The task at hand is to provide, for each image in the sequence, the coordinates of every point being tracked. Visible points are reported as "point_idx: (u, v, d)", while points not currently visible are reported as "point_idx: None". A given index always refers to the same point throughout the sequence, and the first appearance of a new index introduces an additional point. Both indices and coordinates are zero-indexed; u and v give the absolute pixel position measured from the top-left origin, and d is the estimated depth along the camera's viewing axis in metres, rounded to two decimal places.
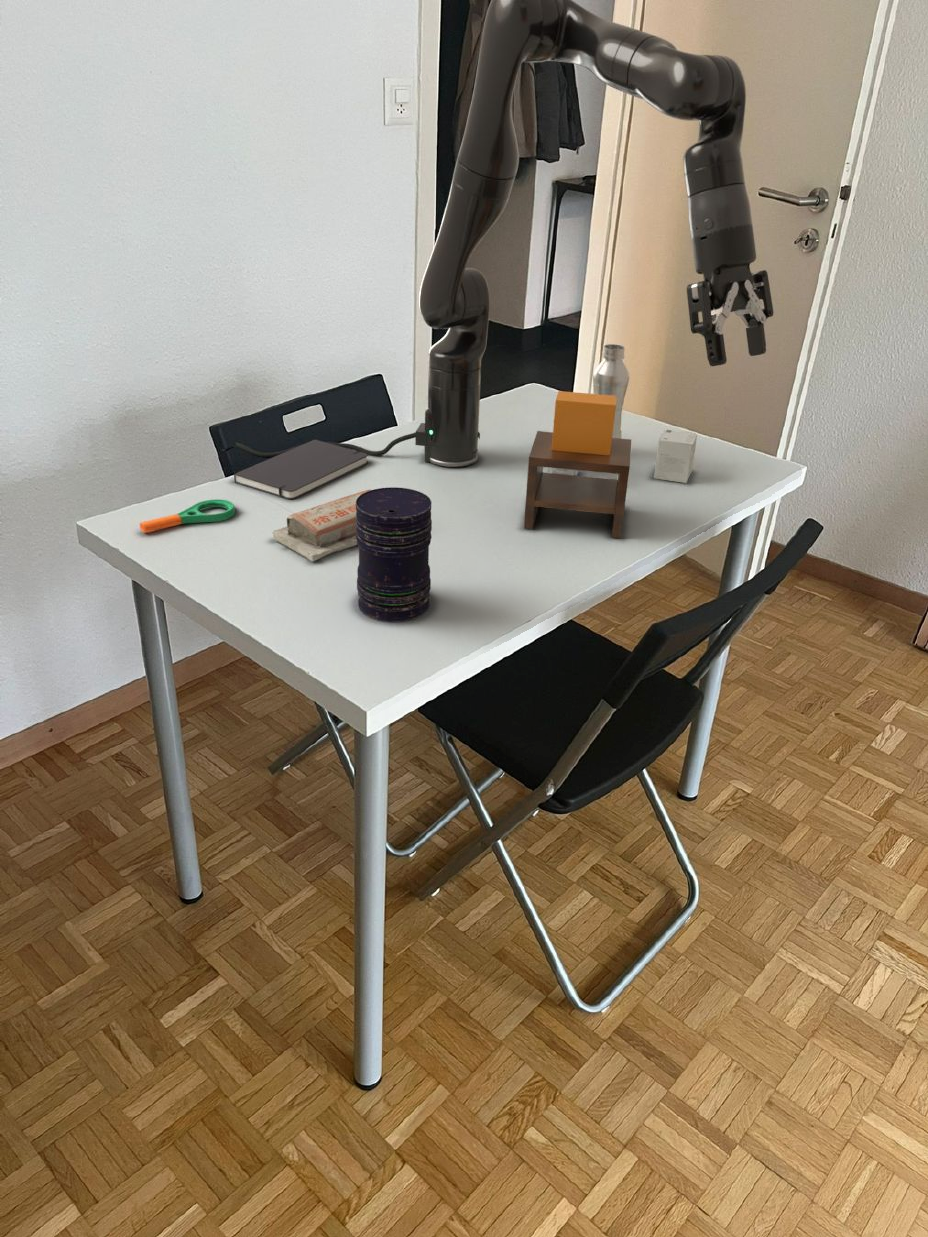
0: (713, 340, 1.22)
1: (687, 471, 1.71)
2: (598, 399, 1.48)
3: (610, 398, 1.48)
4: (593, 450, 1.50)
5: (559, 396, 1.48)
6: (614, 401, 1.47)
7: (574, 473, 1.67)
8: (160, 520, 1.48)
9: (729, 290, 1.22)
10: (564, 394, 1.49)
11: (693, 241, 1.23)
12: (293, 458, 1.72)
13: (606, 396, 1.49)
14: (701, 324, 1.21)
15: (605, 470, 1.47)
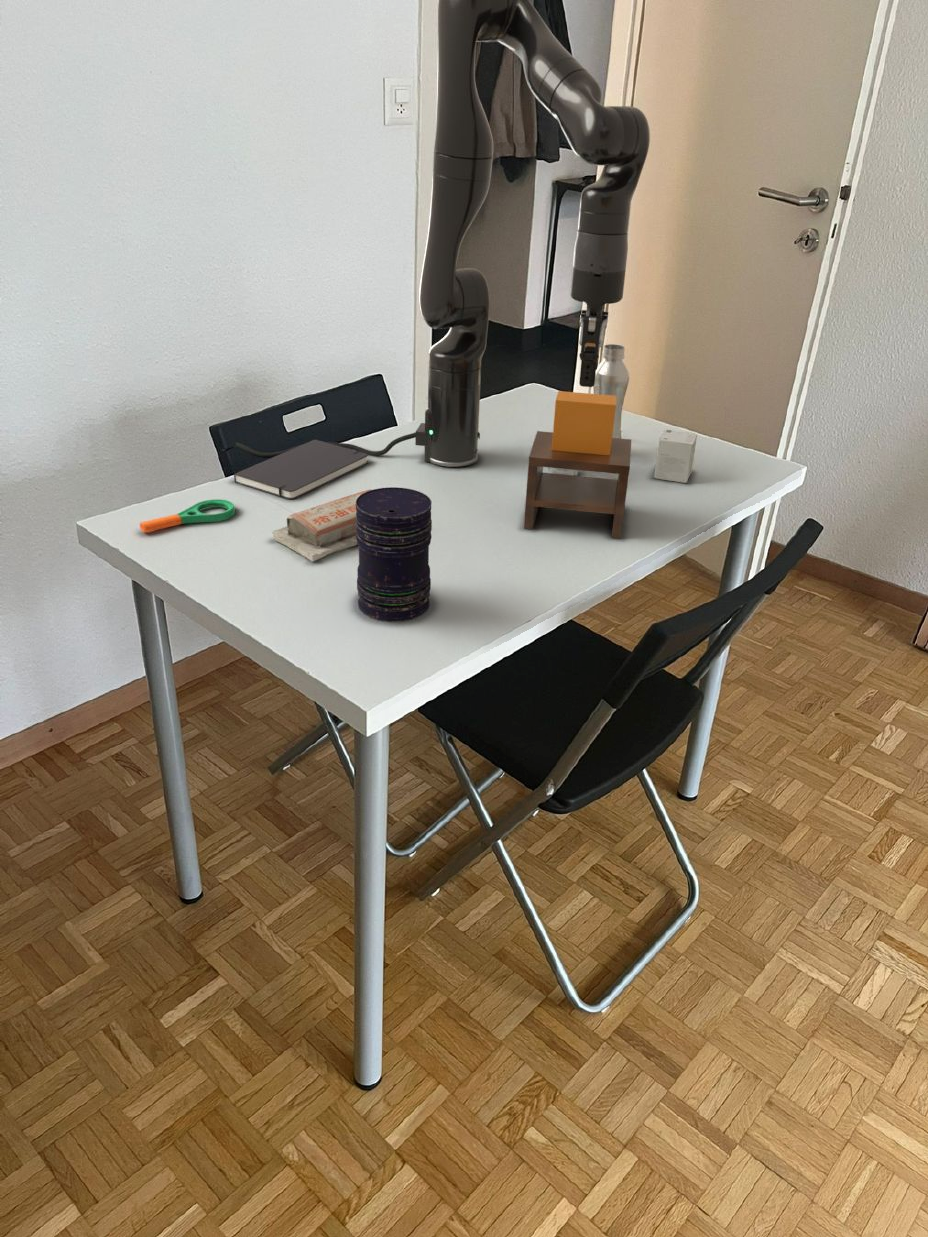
0: (592, 366, 1.40)
1: (687, 471, 1.71)
2: (598, 399, 1.48)
3: (610, 398, 1.48)
4: (593, 450, 1.50)
5: (559, 396, 1.48)
6: (614, 401, 1.47)
7: (574, 473, 1.67)
8: (160, 520, 1.48)
9: (604, 323, 1.40)
10: (564, 394, 1.49)
11: (583, 273, 1.36)
12: (293, 458, 1.72)
13: (606, 396, 1.49)
14: (592, 354, 1.38)
15: (605, 470, 1.47)
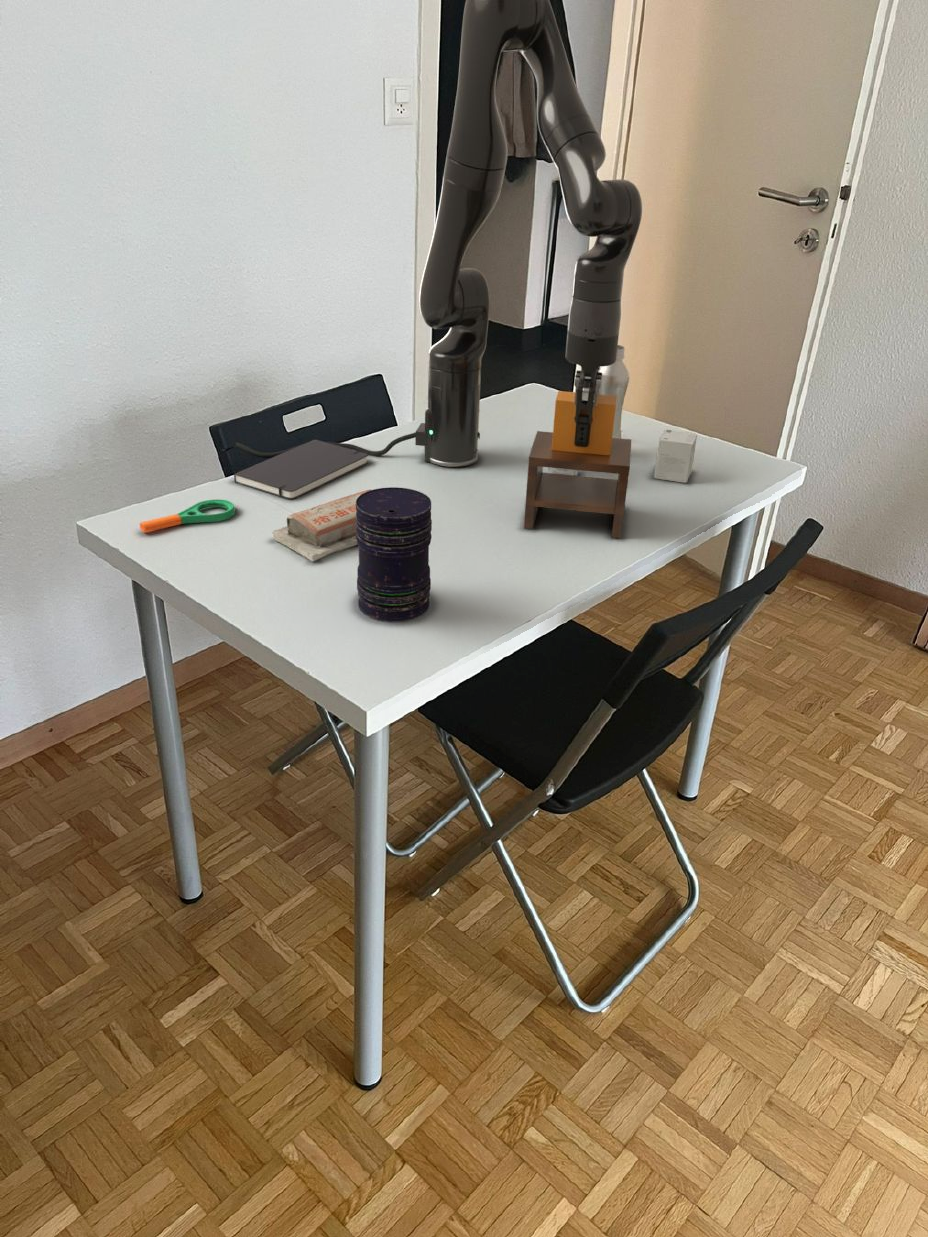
0: (586, 428, 1.47)
1: (687, 471, 1.71)
2: (598, 399, 1.48)
3: (610, 398, 1.48)
4: (593, 450, 1.50)
5: (559, 396, 1.48)
6: (614, 401, 1.47)
7: (574, 473, 1.67)
8: (160, 520, 1.48)
9: (598, 386, 1.45)
10: (564, 394, 1.49)
11: (577, 338, 1.41)
12: (293, 458, 1.72)
13: (606, 396, 1.49)
14: (586, 418, 1.44)
15: (605, 470, 1.47)
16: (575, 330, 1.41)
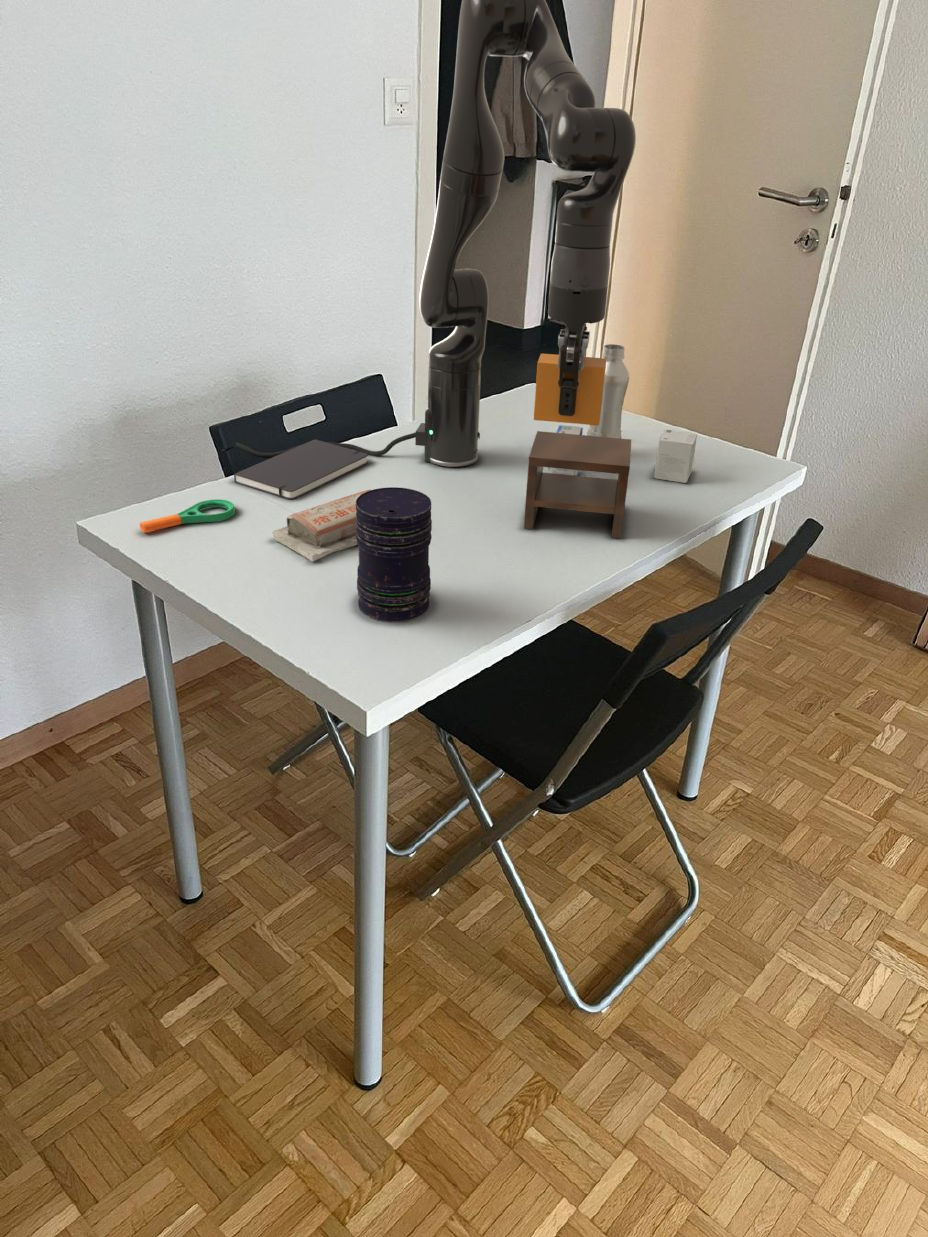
0: (572, 394, 1.30)
1: (687, 471, 1.71)
2: (585, 361, 1.31)
3: (599, 361, 1.32)
4: (580, 419, 1.33)
5: (541, 358, 1.32)
6: (603, 364, 1.31)
7: (574, 473, 1.67)
8: (160, 520, 1.48)
9: (585, 346, 1.28)
10: (548, 357, 1.33)
11: (561, 290, 1.24)
12: (293, 458, 1.72)
13: (594, 359, 1.33)
14: (571, 381, 1.28)
15: (605, 470, 1.47)
16: (558, 281, 1.24)
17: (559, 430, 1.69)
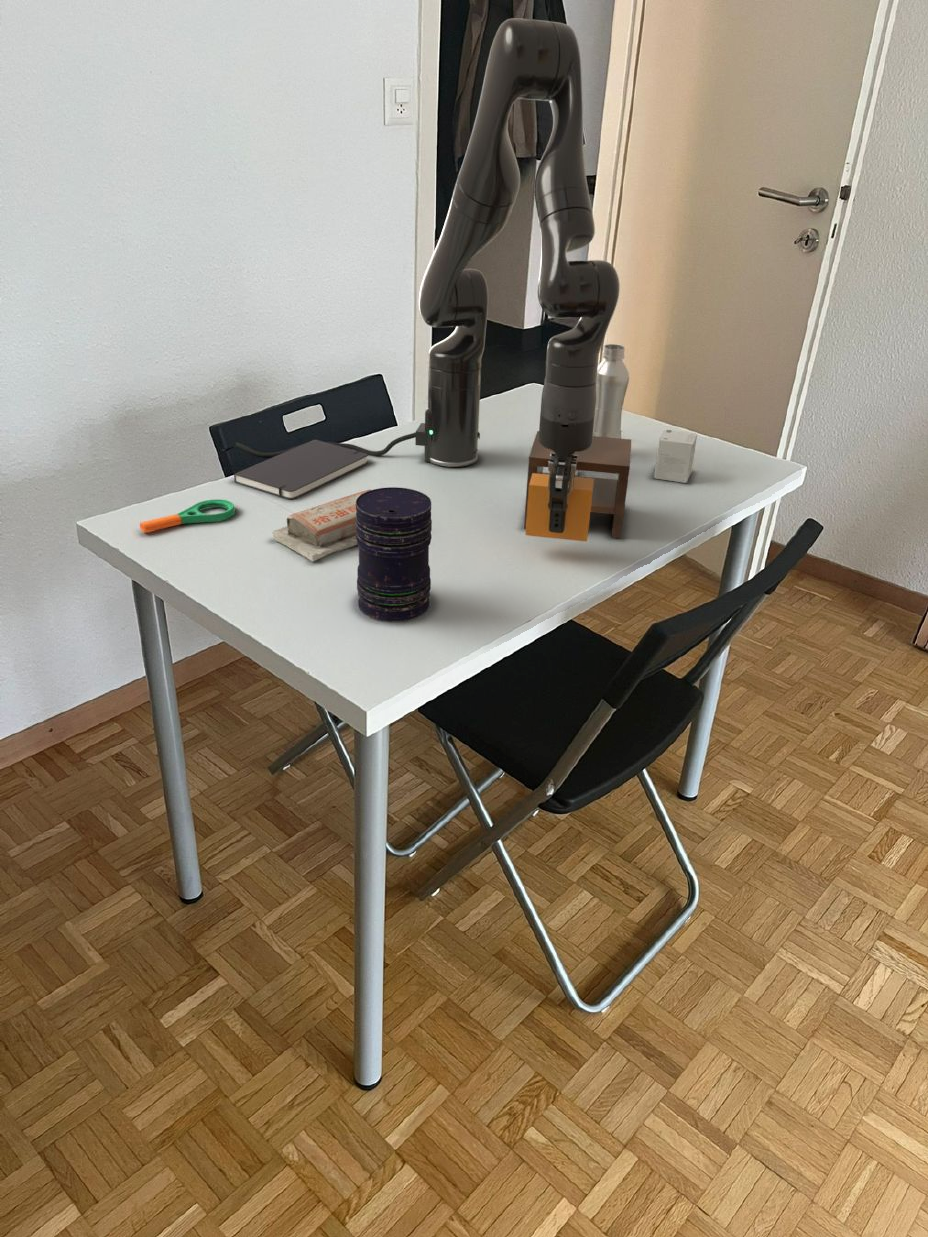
0: (561, 514, 1.39)
1: (687, 471, 1.71)
2: (574, 483, 1.40)
3: (587, 482, 1.40)
4: (569, 536, 1.42)
5: (533, 479, 1.41)
6: (591, 486, 1.39)
7: None
8: (160, 520, 1.48)
9: (573, 471, 1.37)
10: (539, 477, 1.41)
11: (550, 423, 1.33)
12: (293, 458, 1.72)
13: (582, 479, 1.41)
14: (560, 505, 1.37)
15: (605, 470, 1.47)
16: (548, 415, 1.33)
17: None
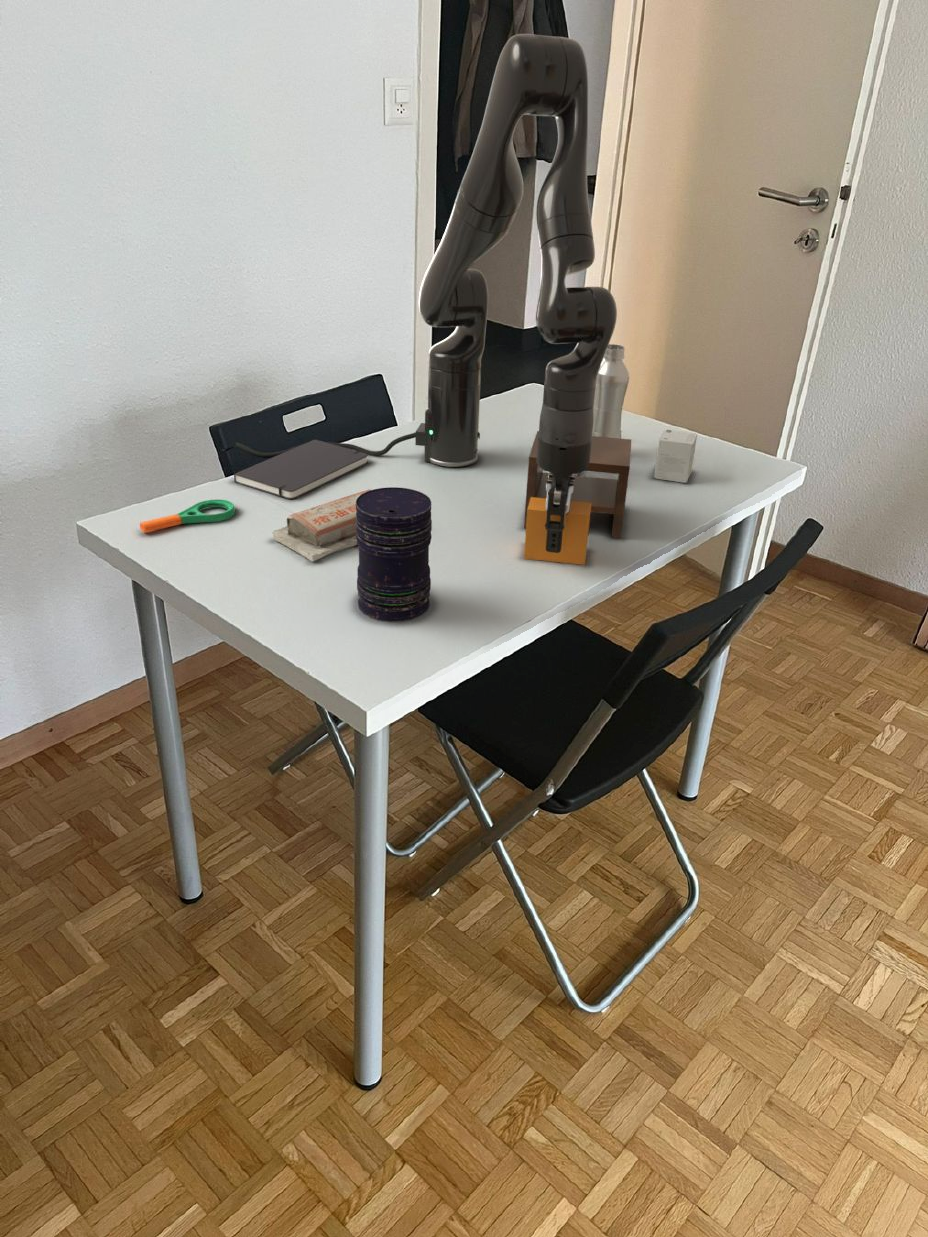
0: (558, 535, 1.39)
1: (687, 471, 1.71)
2: (571, 507, 1.42)
3: (584, 506, 1.42)
4: (567, 559, 1.44)
5: (531, 504, 1.43)
6: (588, 510, 1.41)
7: None
8: (160, 520, 1.48)
9: (571, 491, 1.39)
10: (537, 501, 1.43)
11: (548, 446, 1.35)
12: (293, 458, 1.72)
13: (580, 504, 1.43)
14: (557, 525, 1.36)
15: (605, 470, 1.47)
16: (546, 438, 1.35)
17: None
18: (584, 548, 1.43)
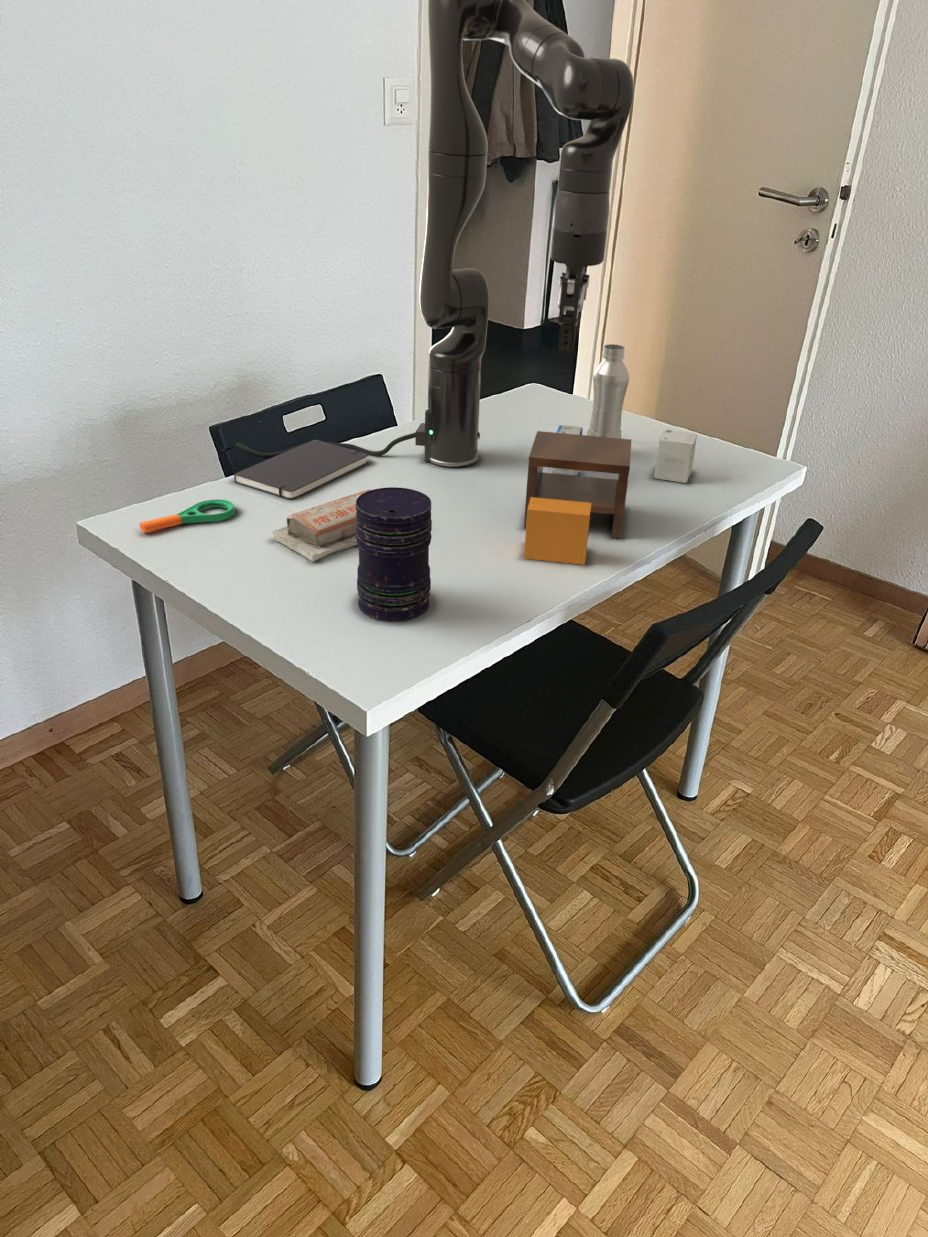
0: (571, 331, 1.36)
1: (687, 471, 1.71)
2: (571, 507, 1.42)
3: (584, 506, 1.42)
4: (567, 559, 1.44)
5: (531, 504, 1.43)
6: (588, 510, 1.41)
7: (574, 473, 1.67)
8: (160, 520, 1.48)
9: (584, 286, 1.36)
10: (537, 501, 1.43)
11: (562, 233, 1.32)
12: (293, 458, 1.72)
13: (580, 504, 1.43)
14: (570, 318, 1.34)
15: (605, 470, 1.47)
16: (560, 225, 1.32)
17: (559, 430, 1.69)
18: (584, 548, 1.43)
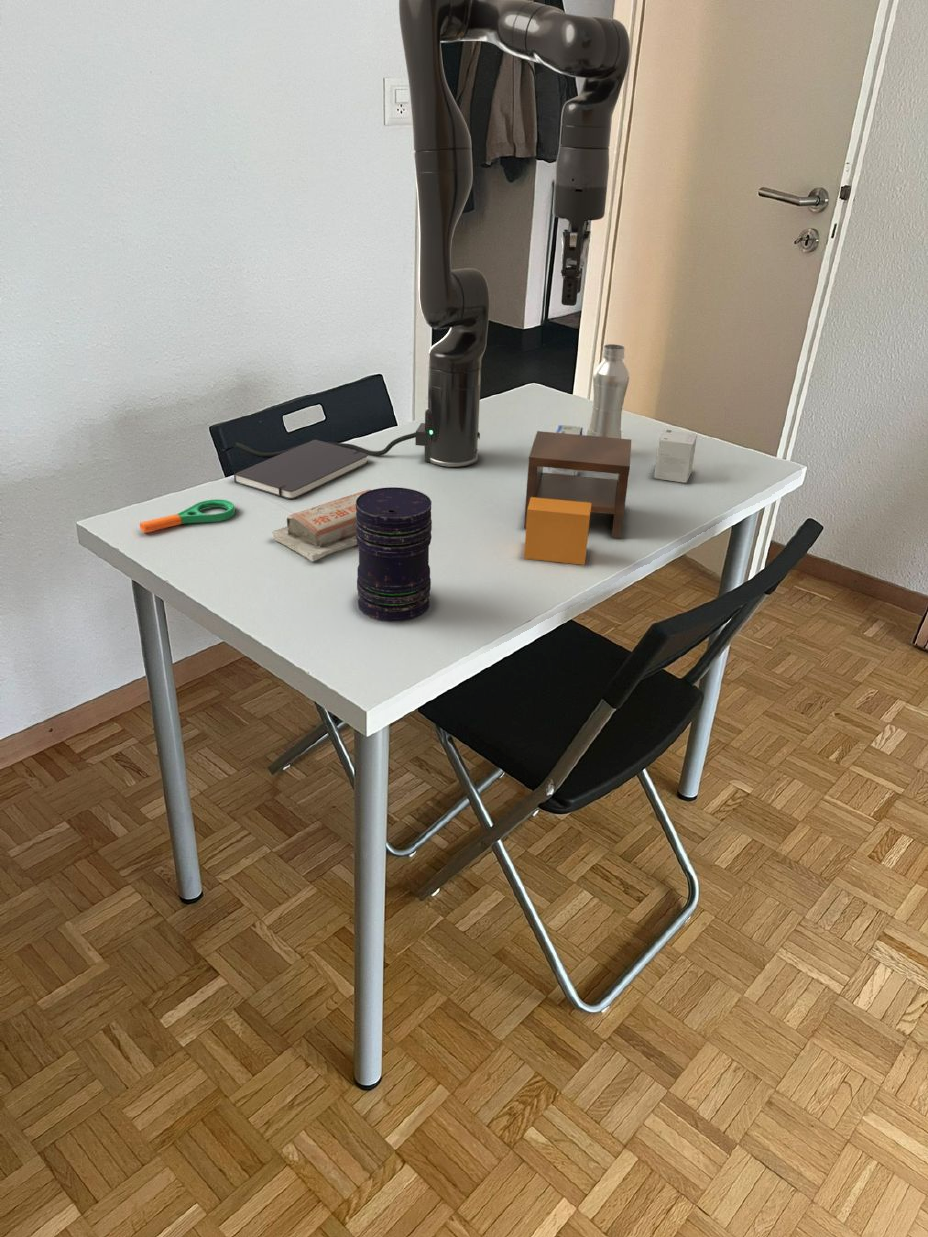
0: (574, 284, 1.41)
1: (687, 471, 1.71)
2: (571, 507, 1.42)
3: (584, 506, 1.42)
4: (567, 559, 1.44)
5: (531, 504, 1.43)
6: (588, 510, 1.41)
7: (574, 473, 1.67)
8: (160, 520, 1.48)
9: (586, 240, 1.41)
10: (537, 501, 1.43)
11: (564, 189, 1.37)
12: (293, 458, 1.72)
13: (580, 504, 1.43)
14: (573, 270, 1.38)
15: (605, 470, 1.47)
16: (562, 180, 1.37)
17: (559, 430, 1.69)
18: (584, 548, 1.43)
